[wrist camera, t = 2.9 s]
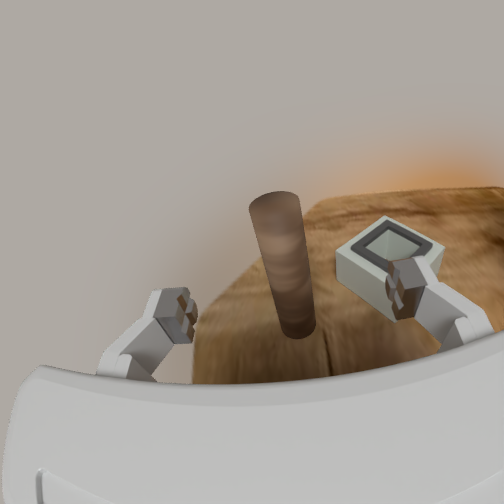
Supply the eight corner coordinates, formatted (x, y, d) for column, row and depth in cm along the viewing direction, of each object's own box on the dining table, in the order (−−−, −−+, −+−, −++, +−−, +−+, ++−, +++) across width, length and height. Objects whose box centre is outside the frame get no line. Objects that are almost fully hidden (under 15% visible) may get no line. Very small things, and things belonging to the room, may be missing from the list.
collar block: (394, 323, 27) (403, 290, 24) (336, 279, 35) (335, 246, 31) (437, 276, 30) (446, 243, 27) (382, 243, 38) (384, 211, 34)
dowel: (295, 345, 29) (267, 224, 19) (275, 323, 32) (239, 206, 22) (322, 324, 30) (310, 201, 20) (301, 305, 33) (279, 186, 23)
